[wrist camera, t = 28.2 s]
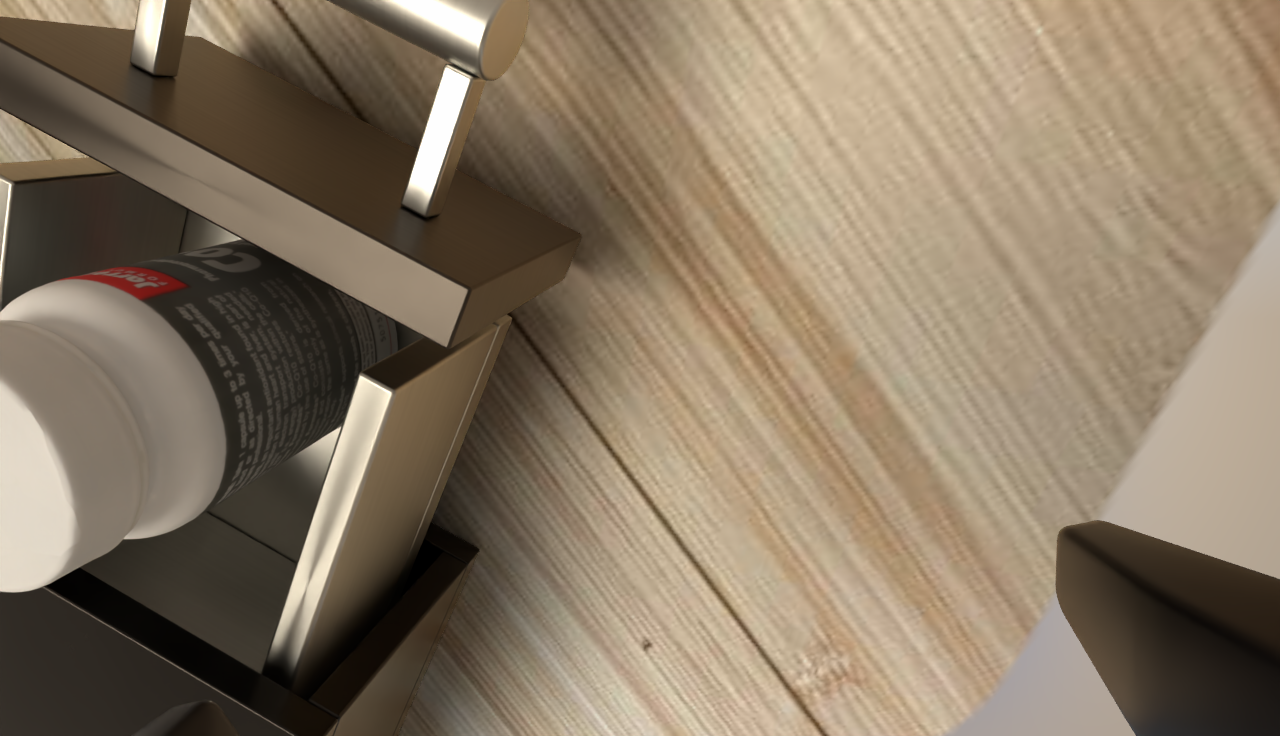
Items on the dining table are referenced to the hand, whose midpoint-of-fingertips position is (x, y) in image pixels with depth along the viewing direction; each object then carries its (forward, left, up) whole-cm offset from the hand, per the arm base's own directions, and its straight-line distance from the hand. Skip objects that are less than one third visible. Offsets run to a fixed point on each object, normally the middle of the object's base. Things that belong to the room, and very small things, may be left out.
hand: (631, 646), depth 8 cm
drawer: (+10, +3, -11) cm, 15 cm away
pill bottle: (+10, +4, -10) cm, 14 cm away
